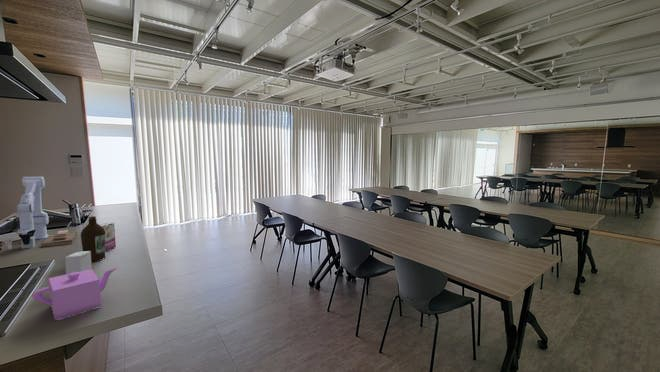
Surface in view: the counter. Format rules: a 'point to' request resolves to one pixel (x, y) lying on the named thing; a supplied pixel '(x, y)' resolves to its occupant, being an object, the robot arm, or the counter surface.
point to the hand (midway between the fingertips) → (28, 242)
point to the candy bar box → (109, 235)
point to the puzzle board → (60, 238)
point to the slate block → (31, 244)
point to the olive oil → (94, 239)
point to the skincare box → (78, 262)
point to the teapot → (73, 292)
